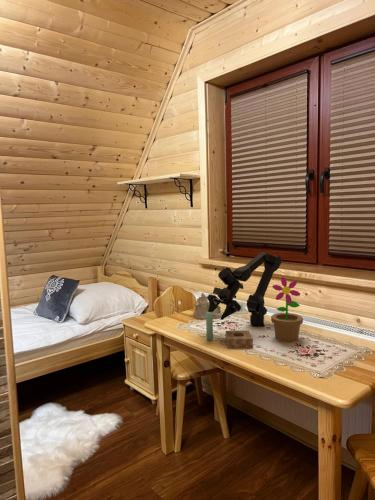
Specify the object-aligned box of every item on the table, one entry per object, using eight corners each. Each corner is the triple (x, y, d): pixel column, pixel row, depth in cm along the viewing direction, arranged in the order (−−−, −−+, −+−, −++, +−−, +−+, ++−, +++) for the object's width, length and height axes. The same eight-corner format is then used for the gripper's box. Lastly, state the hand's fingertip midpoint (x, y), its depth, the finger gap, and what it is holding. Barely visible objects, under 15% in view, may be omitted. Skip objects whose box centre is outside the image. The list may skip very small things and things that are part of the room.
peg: (212, 338, 175) (212, 311, 173) (213, 340, 172) (212, 313, 170) (206, 338, 175) (205, 312, 173) (206, 340, 172) (206, 313, 170)
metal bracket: (223, 298, 227) (248, 299, 224) (224, 307, 229) (248, 307, 227) (221, 311, 214) (247, 312, 211) (222, 320, 216) (248, 320, 214)
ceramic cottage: (223, 318, 204) (221, 292, 204) (193, 320, 205) (191, 294, 204) (220, 312, 220) (219, 287, 219) (193, 314, 220) (191, 289, 219)
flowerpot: (269, 342, 168) (269, 277, 165) (273, 332, 182) (273, 272, 178) (301, 345, 163) (302, 278, 160) (303, 334, 177) (304, 273, 173)
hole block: (249, 338, 173) (249, 330, 173) (252, 347, 162) (252, 338, 162) (225, 339, 174) (225, 330, 173) (227, 347, 163) (227, 339, 162)
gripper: (209, 278, 183) (192, 303, 177) (236, 283, 168) (219, 311, 163) (221, 291, 188) (205, 316, 183) (248, 297, 174) (231, 325, 168)
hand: (214, 317), depth 174 cm, fingers open, 9 cm apart
